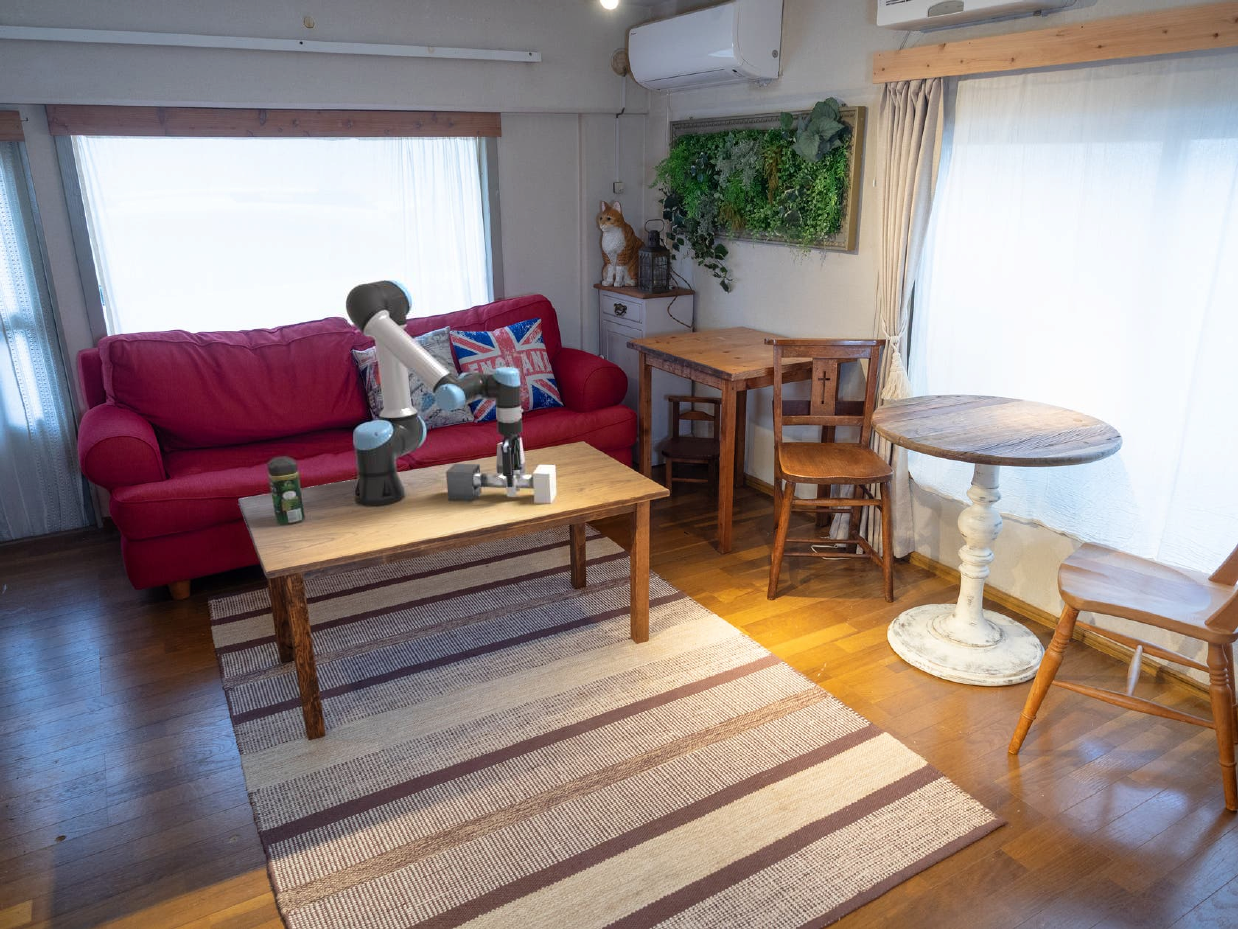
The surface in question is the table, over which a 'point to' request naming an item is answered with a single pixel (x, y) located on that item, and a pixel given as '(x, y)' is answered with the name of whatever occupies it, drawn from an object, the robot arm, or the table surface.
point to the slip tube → (502, 480)
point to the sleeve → (462, 482)
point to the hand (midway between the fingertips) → (513, 493)
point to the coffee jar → (286, 490)
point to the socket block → (544, 484)
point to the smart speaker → (499, 458)
